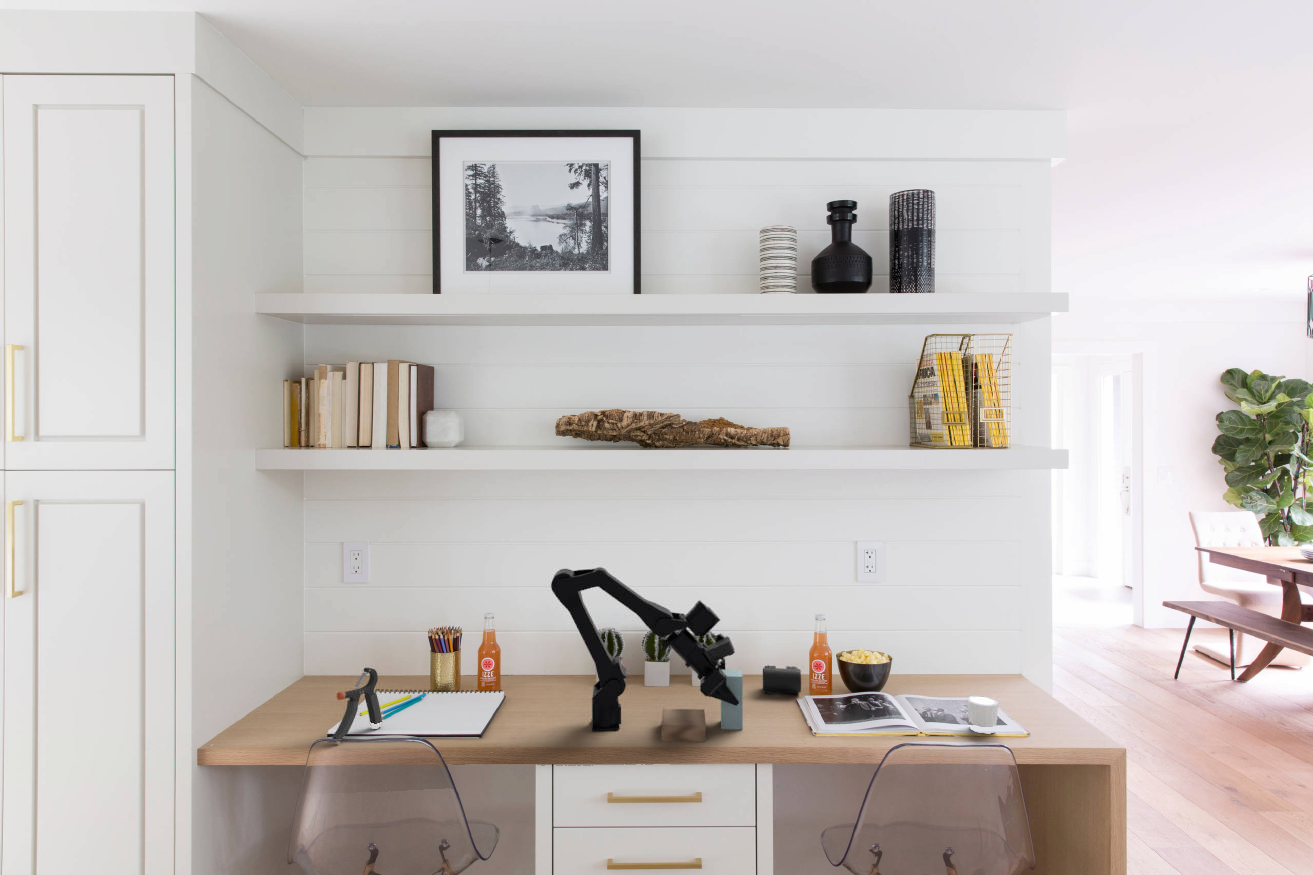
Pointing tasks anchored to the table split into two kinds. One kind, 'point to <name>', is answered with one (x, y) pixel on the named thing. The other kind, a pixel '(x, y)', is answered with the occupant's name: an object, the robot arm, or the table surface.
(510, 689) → the table surface
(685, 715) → the walnut block
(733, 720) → the pillar
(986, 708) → the white cylinder
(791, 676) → the black rounded block
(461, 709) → the table surface
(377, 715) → the hand grip strengthener
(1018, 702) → the table surface
